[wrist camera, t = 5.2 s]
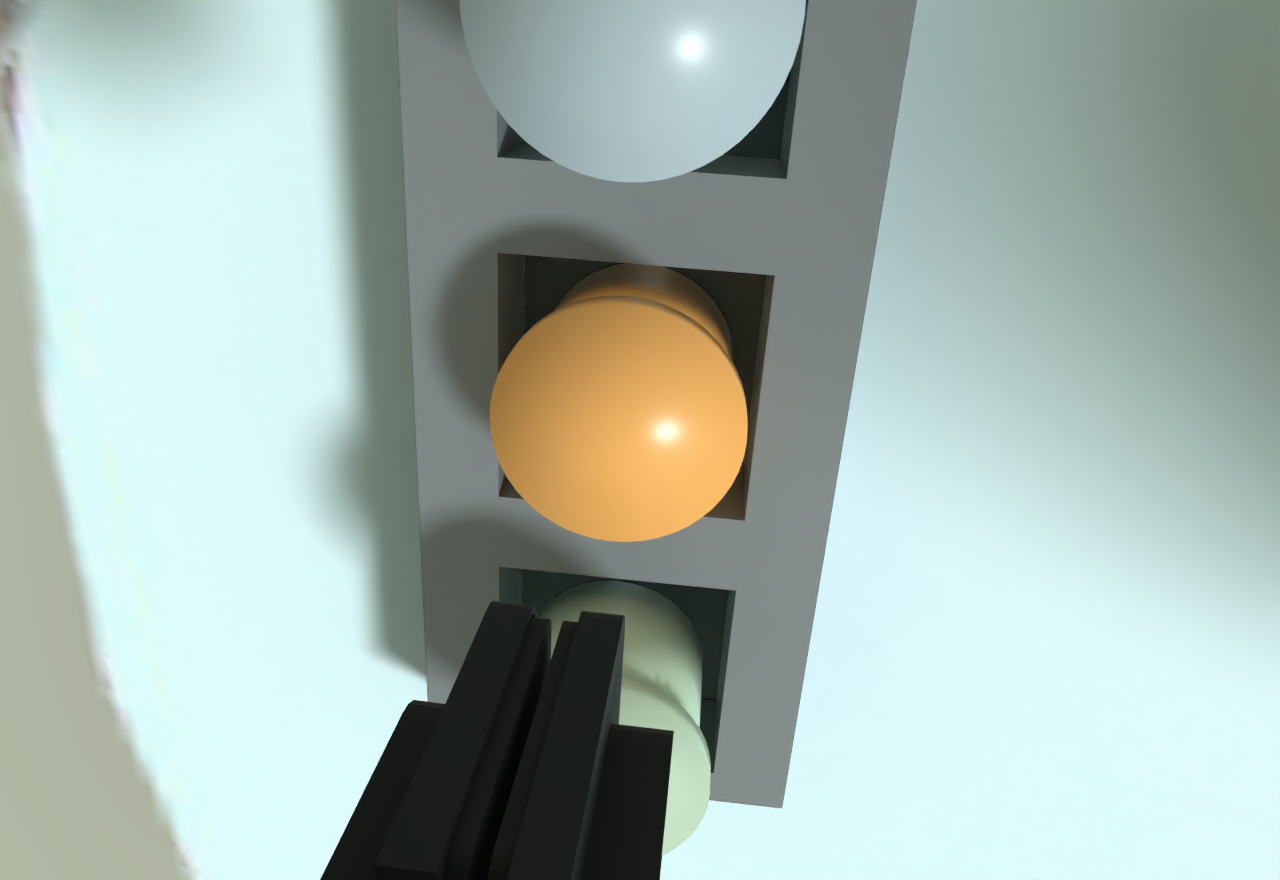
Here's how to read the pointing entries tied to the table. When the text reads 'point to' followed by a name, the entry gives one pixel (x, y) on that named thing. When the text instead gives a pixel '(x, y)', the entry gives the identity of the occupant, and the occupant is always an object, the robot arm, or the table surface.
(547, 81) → the plunger gray
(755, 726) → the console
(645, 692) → the plunger green
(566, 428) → the plunger orange
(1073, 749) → the table surface
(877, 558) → the table surface
